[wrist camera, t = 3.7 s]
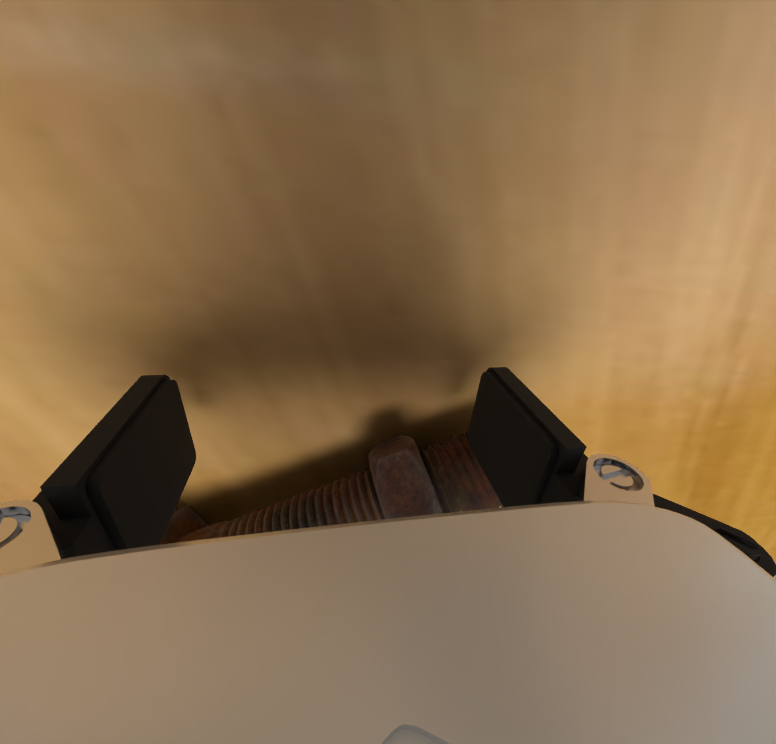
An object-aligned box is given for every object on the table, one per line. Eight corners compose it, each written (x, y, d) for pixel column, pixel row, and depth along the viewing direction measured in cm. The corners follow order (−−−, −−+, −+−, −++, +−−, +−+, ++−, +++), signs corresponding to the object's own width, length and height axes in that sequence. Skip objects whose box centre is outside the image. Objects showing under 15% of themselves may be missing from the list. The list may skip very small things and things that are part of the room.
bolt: (477, 414, 17) (193, 521, 17) (489, 367, 13) (101, 511, 12) (538, 535, 14) (198, 668, 14) (581, 530, 10) (82, 725, 9)
